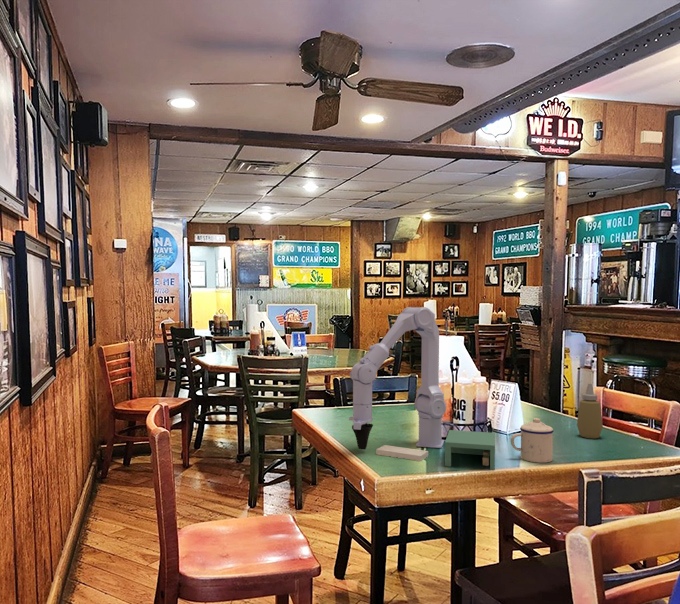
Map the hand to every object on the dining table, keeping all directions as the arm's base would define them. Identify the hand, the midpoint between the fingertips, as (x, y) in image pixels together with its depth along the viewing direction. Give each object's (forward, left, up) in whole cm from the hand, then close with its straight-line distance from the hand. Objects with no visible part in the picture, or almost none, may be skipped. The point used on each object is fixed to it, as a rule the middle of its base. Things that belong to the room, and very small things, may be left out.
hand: (362, 448), depth 165 cm
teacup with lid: (-7, +48, -1) cm, 49 cm away
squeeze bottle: (-42, +69, -1) cm, 81 cm away
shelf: (0, +31, -1) cm, 32 cm away
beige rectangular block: (0, +12, -2) cm, 12 cm away
